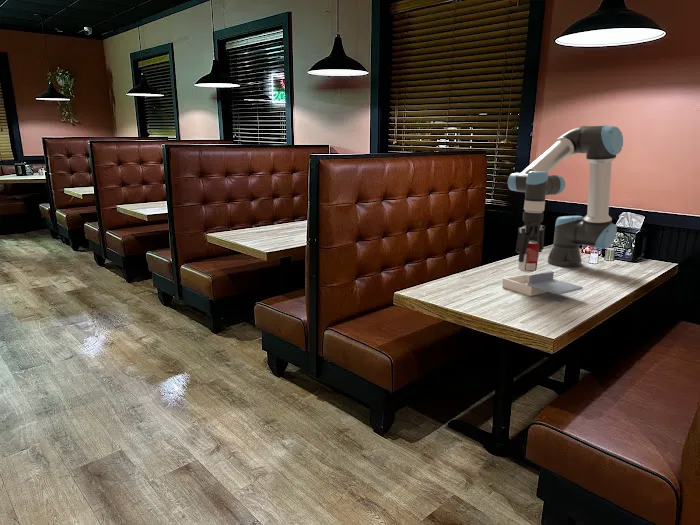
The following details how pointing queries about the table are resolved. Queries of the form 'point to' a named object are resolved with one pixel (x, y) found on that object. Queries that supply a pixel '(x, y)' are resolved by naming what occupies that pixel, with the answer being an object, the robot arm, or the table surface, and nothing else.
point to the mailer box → (521, 285)
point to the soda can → (531, 256)
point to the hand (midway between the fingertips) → (527, 268)
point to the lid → (551, 283)
